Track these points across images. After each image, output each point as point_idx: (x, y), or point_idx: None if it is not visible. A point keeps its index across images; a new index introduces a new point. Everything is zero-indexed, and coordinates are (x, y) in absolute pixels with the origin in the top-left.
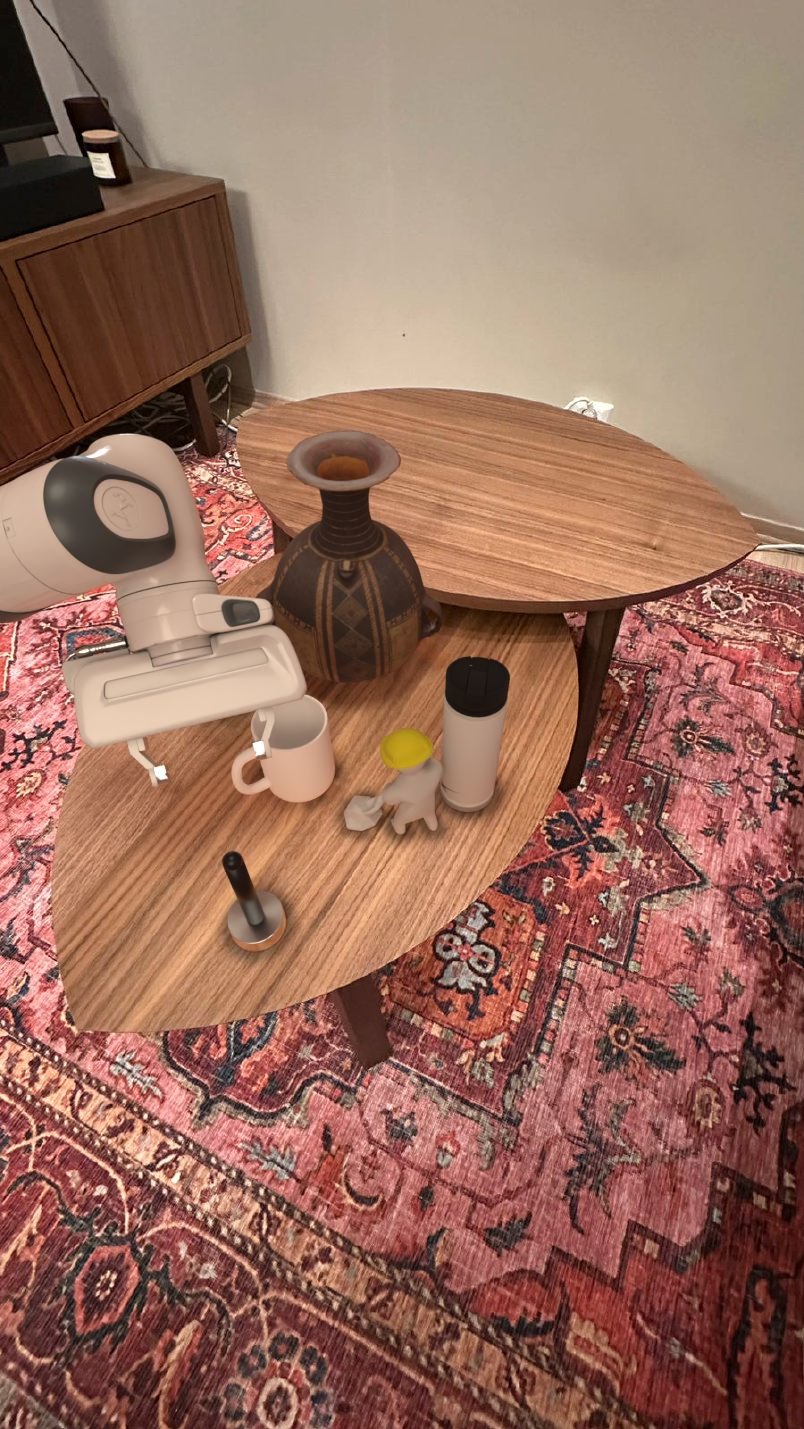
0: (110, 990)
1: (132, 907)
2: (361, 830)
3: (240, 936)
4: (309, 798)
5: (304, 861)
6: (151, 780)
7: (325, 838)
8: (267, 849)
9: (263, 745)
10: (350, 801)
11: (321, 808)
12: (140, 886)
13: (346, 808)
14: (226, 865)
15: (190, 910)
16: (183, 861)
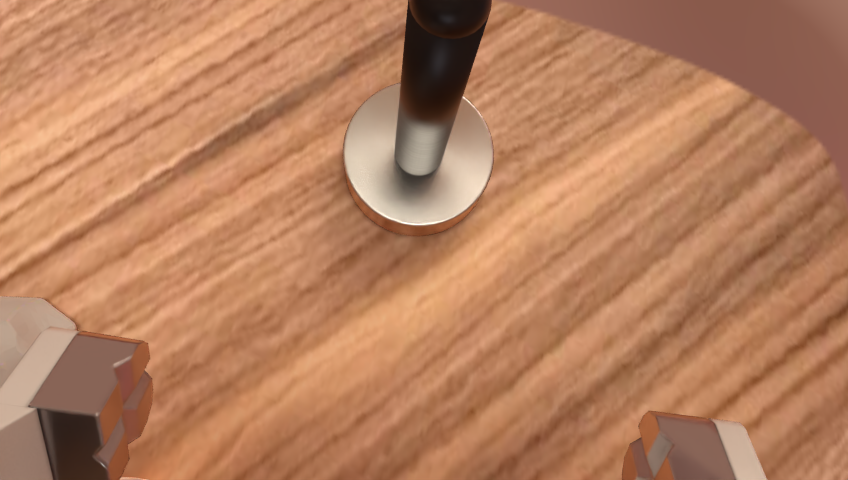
0: (776, 171)
1: (705, 360)
2: (41, 298)
3: (470, 118)
4: (131, 477)
5: (239, 285)
6: (750, 445)
7: (153, 329)
8: (321, 370)
9: (47, 383)
10: None
11: None
12: None
13: None
14: None
15: (566, 283)
16: (553, 440)
